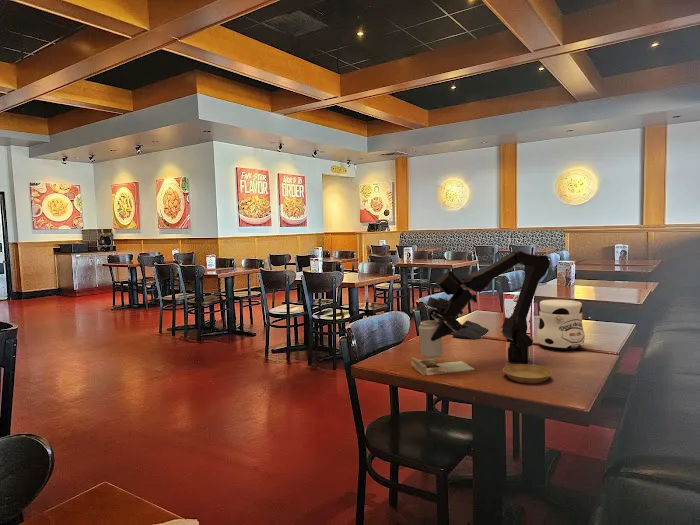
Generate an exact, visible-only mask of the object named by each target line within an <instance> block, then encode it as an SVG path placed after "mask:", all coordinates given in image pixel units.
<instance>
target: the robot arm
mask: <svg viewBox="0 0 700 525" xmlns="http://www.w3.org/2000/svg"><path fill="white" fill-rule="evenodd" d="M518 264H520V265H523V266H524V267H523V271H524V279H523V282H522V285H521V289H520V291H519V295H518V298H517V300H516V303H515V306H514V308H513V312H512V314H511V315H510V316H509V317H507V316H505V317H504V320H503V323H502V325H501V327H500V328H502V329H501V333H502V335H503V336H504V338H505V339H506V342H507V343H509V346H508V347H507V360H508V363H514V364H516V363H517V364H526V365H529V362H530V359H531V358H530V347H532V346H533V342H534V340H533V339H532V338H531V337H530V336H529V335H528V334H527V331H528V322H527V321H528V320H527V318H528V316H529V315H528V314H529V312H530V309H531V306H532V303H533V299H534V297H535V294H536V291H537V288H538V285H539V282H540V281H541V280H542V278H543V277H544V276H545V275H546V274H547V272H548V270H549V268H550V265H551V261H550V259H549V257H547V255H544V254H543V255H542V254H534V253H533V254H530V253H526V252H523V251H521V250H513V251H511V252H509V254H507V255H505V256H503V257H502V258H500V259H498V260H497V261H495V262H494V263H492V264H490V265H489V266H487V267H486V268H484V269H482V270H476V271H474V272H470V273H469V274H467V275H466V276H464V278H458V277H457V276H456V275H455V274H454V272H453V271H452V270H446V272H444V273H442V274H441V275H440V276H439V277H438V278H437V279H436V281H435V285H436V286H437V287H438V288H440V290H442V291H443V292H444V293H445V295H447V296H450V295H451V297H450V298H448V299H446V298H442V297H439V298H437V299H436V298H435V297H432V296H429V298H428V300H427V302H426V306H427V307H429V308H428V309H427V310H426V311H425V313H426V315H427V321H428V320H434V321H438V324H439V327H438V328H437V330H436V331H435V333H434V334H433V336H432V338H431V340H432V341H435V340H437V339H439V338H441V339H442V338H443V337H445V336H449V335H451V334H452V333H454V331H456V332H459V331H460V330H461V329H462V323H460V321H458V320H457V319H456V318H457V317H458V316H459V315H462V314H463V313H464V311H463V310H464V309H465V307H466V306H468V304H469V303H470V302H472V303H478V299H477V297H478V296H477V294H474V293H472V292H475V293H476V292H477V293H480V292H482V291H484V290H485V289H486V288H487V287H489V286H490V284H491V283H492V281H493V280H494V279H495V278H497V277H498V276H500V275H502V274H504V273H505V272H507V271H508V270H511V268H513V267H515V266H516V265H518ZM464 288H465V289H464ZM471 291H472V292H471Z"/></svg>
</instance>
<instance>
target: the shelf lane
mask: <svg viewBox="0 0 700 525" xmlns="http://www.w3.org/2000/svg"><path fill="white" fill-rule="evenodd" d="M429 365H430V366H436V358H426V359H417V358H416V357H411V367H412V368H413V367H414V368H413V369H415V370H416V371H417V372H418V373H419V372H420V373H419V374H421V375H422V376H424V377H425V375H426V376H434V375H433V374H436V375H443V374H444V373H447V367H438V366H437V367H429ZM427 367H429V368H427ZM447 374H448V373H447Z"/></svg>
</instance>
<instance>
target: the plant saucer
mask: <svg viewBox="0 0 700 525" xmlns="http://www.w3.org/2000/svg"><path fill="white" fill-rule="evenodd" d="M502 371H503V372H504V374H505V375H506V376H507V377H508V378H509V379H510V380H512V381H515V382H516V383H523V384H539V383H540V384H541V383H543V382H545V381H547V380H548V379H549V378H550V376H552V374H553V372H552V371H551V370H550V369H549V368H547V367H544V366H539V365H536V364H535V365H534V364H524V363H517V364H516V363H515V364H511V365H506V366H504V367H503V368H502Z"/></svg>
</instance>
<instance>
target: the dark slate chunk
mask: <svg viewBox="0 0 700 525" xmlns="http://www.w3.org/2000/svg"><path fill="white" fill-rule="evenodd" d="M461 325H462V329H461V330H460V331H459V332H456V331H454V330H453V331H454V333H451V334H452V336H453V337H455V338H461V339H467V338H468V339H469V340H475V339H481V336H483V335H485V334H486V333H487V332H488V331H489V329H488V328H486V327H484V326H482V325H481V324H479V323H477V322H474V321H471V320H466V321H464V322H463V324H462V323H461ZM489 332H490V331H489ZM489 332H488V333H489ZM488 333H487V334H488ZM487 334H486V335H487ZM486 335H485V336H486ZM481 340H482V339H481Z"/></svg>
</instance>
